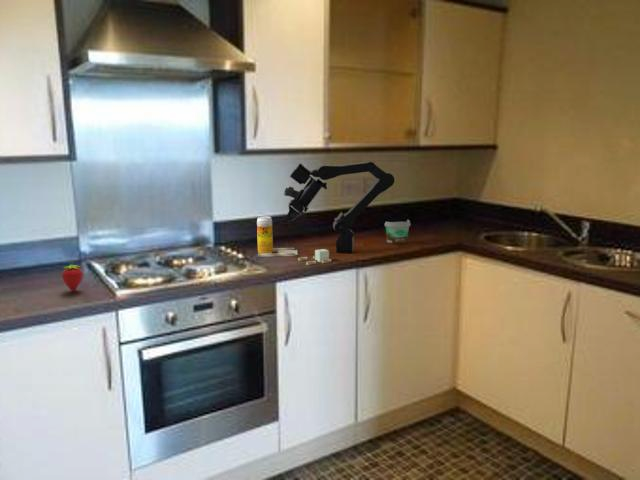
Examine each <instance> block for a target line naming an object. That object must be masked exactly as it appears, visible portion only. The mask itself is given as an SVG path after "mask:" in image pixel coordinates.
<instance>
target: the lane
mask: <svg viewBox="0 0 640 480" xmlns="http://www.w3.org/2000/svg"><path fill="white" fill-rule="evenodd" d="M283 250H295V247H273V252H272V253H271V254H259V253H257V257H258V258H261V257H262V258H263V257H264V258H267V257H295V256H296V255H295V253H278V251H283ZM274 252H277V253H274Z"/></svg>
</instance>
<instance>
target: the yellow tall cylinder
mask: <svg viewBox="0 0 640 480" xmlns="http://www.w3.org/2000/svg"><path fill="white" fill-rule="evenodd" d="M256 226H257V227H256V230H257V231H256V233H257V234H256V235H257V236H256V237H257V238H256V239H257V254H271V253H274V251H273V248H274V244H273V243H274V240H273V219H272V217H271V216H267V215H265V216H257V220H256Z"/></svg>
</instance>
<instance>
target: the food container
mask: <svg viewBox="0 0 640 480" xmlns="http://www.w3.org/2000/svg"><path fill="white" fill-rule="evenodd" d="M384 227H385V232H386V233H385V234H386V235H385V236H386V244H387V243H388V245H392V244H403V245H406V243H407V244H408V237H409V230H410V227H411V221H410V220H409V219H407V220H406V221H385V223H384Z"/></svg>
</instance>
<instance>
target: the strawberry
mask: <svg viewBox="0 0 640 480" xmlns="http://www.w3.org/2000/svg"><path fill="white" fill-rule="evenodd" d="M82 266H83V265H76V264H73V262H71V263H70V264H69V265H68V266H64V267H62V268H63V269H64V270H63V271H62V273H61V274H62V275H61V277H62V280H63V282H64V283H65V285H66V286H67V287H68V288H69V290H70V291H71V292H72V293H74V292H75V291H77V289H78V287H79V285H80V284H81V282H82V280H83V275H84V274H83V270H82V269H81V267H82Z"/></svg>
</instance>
